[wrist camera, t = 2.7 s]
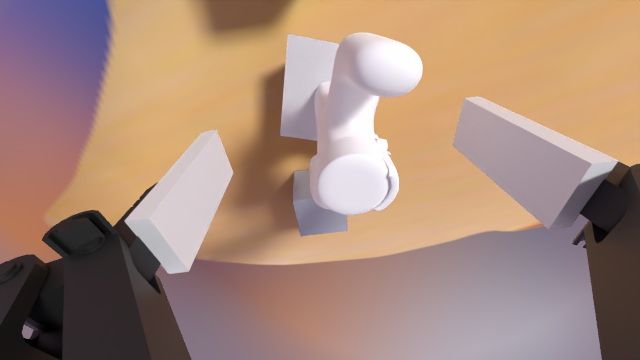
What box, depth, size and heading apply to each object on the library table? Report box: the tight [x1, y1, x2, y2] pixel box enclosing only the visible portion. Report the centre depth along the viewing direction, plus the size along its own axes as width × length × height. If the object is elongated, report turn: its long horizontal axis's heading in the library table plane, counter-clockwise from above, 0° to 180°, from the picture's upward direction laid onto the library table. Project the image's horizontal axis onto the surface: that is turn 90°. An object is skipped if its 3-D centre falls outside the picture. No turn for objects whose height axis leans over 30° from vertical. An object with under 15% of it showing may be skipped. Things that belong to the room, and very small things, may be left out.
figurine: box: [280, 33, 423, 215], centre depth 15 cm, size 7×9×15 cm
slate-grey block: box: [292, 169, 348, 236], centre depth 25 cm, size 5×5×5 cm
